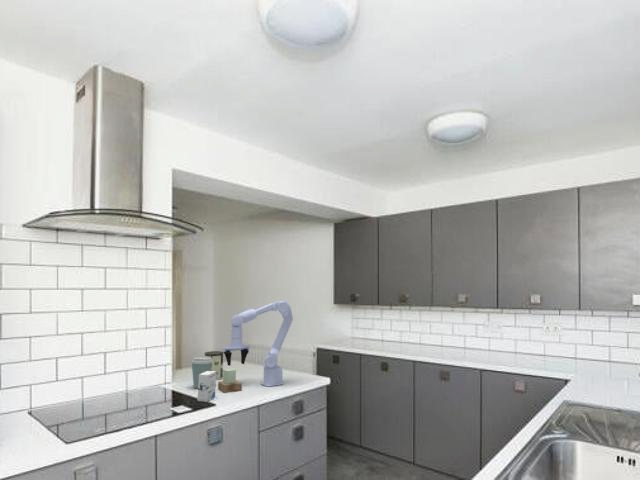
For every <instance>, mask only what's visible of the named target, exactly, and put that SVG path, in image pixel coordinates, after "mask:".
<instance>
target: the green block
mask: <svg viewBox="0 0 640 480" xmlns="http://www.w3.org/2000/svg"><path fill="white" fill-rule="evenodd" d="M236 378H237V370H236V369H234V368H228V369H223V378H222V381H223V383H226V384H230V383H236V380H237V379H236Z"/></svg>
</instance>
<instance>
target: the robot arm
mask: <svg viewBox="0 0 640 480" xmlns="http://www.w3.org/2000/svg"><path fill="white" fill-rule="evenodd" d="M271 311H273V312H277V311H278V312H279V313H280V315H281V317H282V319H283V320H282V322H281V325H280V326H279V329H278V332H277V334H276V337H275V339H274V340H273V344H272V346H271V348H270V350H269V352H268V353H267V354H266V355H265V359H264V366H263V382H260V383H259V384H260V385H263V386H265V387H274V386H280V385H284V383H283V368H282V367H281V366H280V365H279V366H278V365H277V364H278V363H277V362H278V361H277V360H278V357H279V353H280V351H281V349H282V346H283V343H284V342H285V339H286V338H287V335H288V332H289V330H290V327H291V326H292V325H291V324H292V322H293V319H294V318H293V312H292V308H291V305H290V303H289V301H287V300H285V299H284V300H283V299H282V300H280V301H274V302H271V303H269V304H266V305H263V306H261V307H259V308H256V309H254V308H247V309H246V310H245V311H243V312H238V314H235V315H233V316H232V317H231V319H230V323H231V329H230V330H231V331H230V346H223V347H222V352H223V355H224V356H225V359H226V362H227V366H232V365H231V364H232V363H231V361H232V360H231V359H232V354H233V353H232V352H233V351H240V355H241V357H240V358H241V360H240V363H241V365H244V364H245V361H246V359H247V355H248V354H249V351H250V350H251V346H250V345H249V344H248V345H243V324H246V323H247V324H248V323H249V322H251V321H254V320H256V319H257V317H258V316H260V315H262V314H266V313H268V312H271Z"/></svg>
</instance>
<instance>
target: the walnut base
mask: <svg viewBox="0 0 640 480" xmlns="http://www.w3.org/2000/svg"><path fill="white" fill-rule="evenodd" d="M217 389H218V391H220V392H222V393H223V394H227V393H235V392H237V393H238V392H242V391H243V390H242V389H243V385H242V382H241V381H239V380H237V379H236V383H230V384H226V383H223V380H222V381H218V382H217Z"/></svg>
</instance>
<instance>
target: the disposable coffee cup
mask: <svg viewBox="0 0 640 480" xmlns="http://www.w3.org/2000/svg"><path fill="white" fill-rule="evenodd" d="M212 362H213V360H212V358H208V357H205V356H202V357H201V356H199V357H193V358H192V359H191V362H190V363H191V371H192V381H193V382H192V383H193V388H194V389H196V390H198V383H199V374H201V373H204V372H206V371H211V366H212Z"/></svg>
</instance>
